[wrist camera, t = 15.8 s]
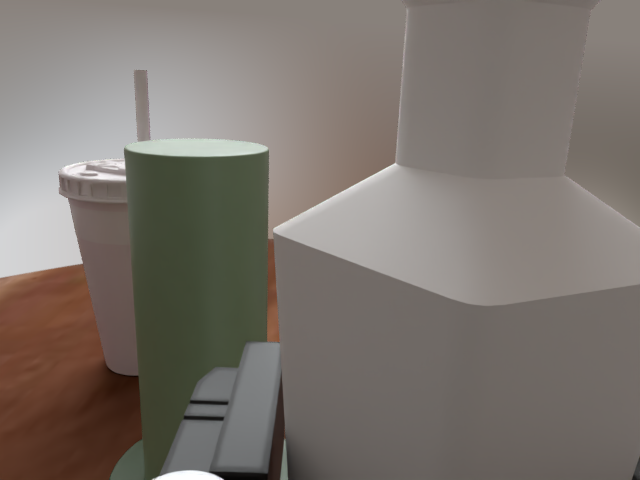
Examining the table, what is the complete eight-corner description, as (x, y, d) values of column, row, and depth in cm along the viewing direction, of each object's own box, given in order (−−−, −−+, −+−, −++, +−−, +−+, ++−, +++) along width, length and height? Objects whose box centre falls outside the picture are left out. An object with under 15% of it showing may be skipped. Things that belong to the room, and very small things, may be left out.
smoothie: (197, 391, 25) (188, 72, 21) (53, 390, 25) (17, 65, 21) (215, 329, 31) (211, 72, 28) (100, 328, 31) (79, 67, 27)
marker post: (189, 617, 15) (170, 173, 11) (71, 499, 19) (32, 141, 15) (337, 491, 20) (355, 150, 16) (219, 417, 23) (213, 130, 20)
